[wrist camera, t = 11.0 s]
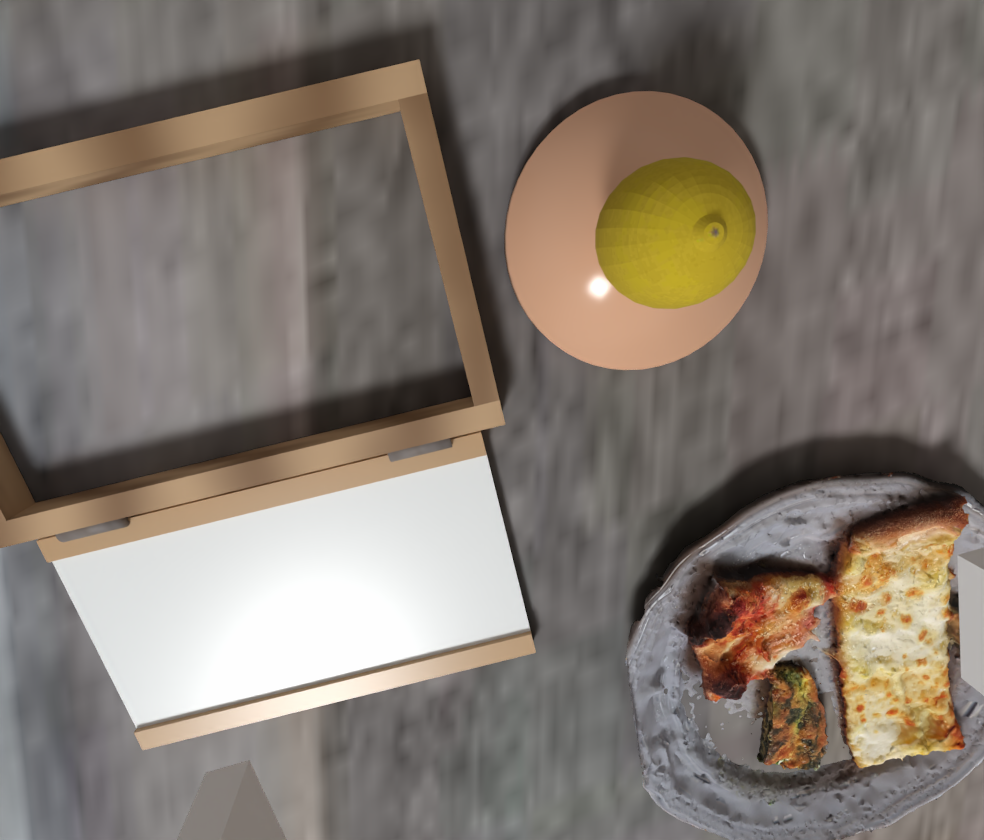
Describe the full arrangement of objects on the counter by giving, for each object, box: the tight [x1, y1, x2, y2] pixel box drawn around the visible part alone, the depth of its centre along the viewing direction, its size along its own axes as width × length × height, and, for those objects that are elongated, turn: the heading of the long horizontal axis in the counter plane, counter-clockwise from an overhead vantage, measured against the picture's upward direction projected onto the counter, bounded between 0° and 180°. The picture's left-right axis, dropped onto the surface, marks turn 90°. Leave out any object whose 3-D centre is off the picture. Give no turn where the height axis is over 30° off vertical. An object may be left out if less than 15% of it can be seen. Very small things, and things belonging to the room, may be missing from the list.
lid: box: [37, 431, 536, 750], centre depth 31 cm, size 22×13×1 cm, turn 103°
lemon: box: [595, 157, 756, 309], centre depth 23 cm, size 6×6×8 cm
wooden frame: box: [0, 59, 505, 548], centre depth 26 cm, size 24×16×2 cm, turn 103°
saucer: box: [504, 91, 768, 370], centre depth 27 cm, size 12×12×1 cm
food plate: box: [625, 472, 984, 840], centre depth 34 cm, size 25×23×4 cm
